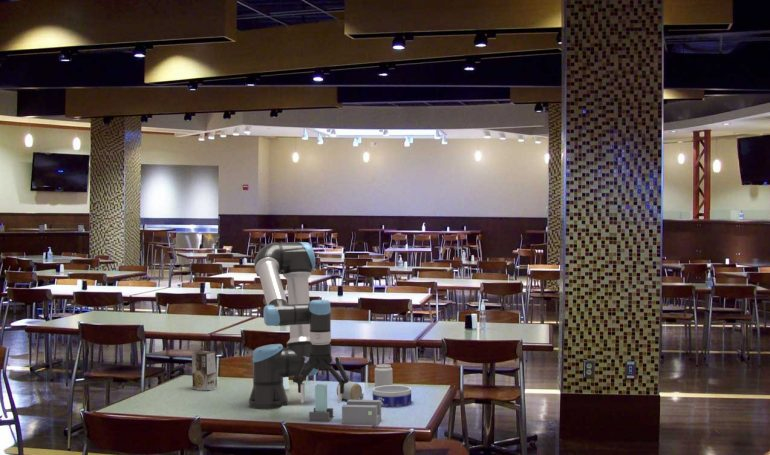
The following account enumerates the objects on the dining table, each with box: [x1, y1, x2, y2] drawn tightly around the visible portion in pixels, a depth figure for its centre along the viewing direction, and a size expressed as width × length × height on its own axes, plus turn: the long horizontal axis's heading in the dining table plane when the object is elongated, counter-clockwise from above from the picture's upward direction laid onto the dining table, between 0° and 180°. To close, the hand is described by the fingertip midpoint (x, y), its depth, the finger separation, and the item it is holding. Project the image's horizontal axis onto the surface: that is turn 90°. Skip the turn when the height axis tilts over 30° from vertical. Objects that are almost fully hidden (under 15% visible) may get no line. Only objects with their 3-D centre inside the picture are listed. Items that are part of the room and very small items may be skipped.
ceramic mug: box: [336, 380, 364, 401], centre depth 342 cm, size 11×8×8 cm
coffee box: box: [191, 350, 218, 391], centre depth 367 cm, size 9×6×16 cm
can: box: [374, 363, 394, 388], centre depth 352 cm, size 8×8×12 cm
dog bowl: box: [372, 384, 412, 408], centre depth 333 cm, size 15×15×6 cm
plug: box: [314, 383, 328, 412], centre depth 304 cm, size 4×4×12 cm
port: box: [341, 399, 382, 428], centre depth 300 cm, size 12×12×7 cm
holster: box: [307, 407, 336, 423], centre depth 304 cm, size 8×9×4 cm
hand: (321, 402), depth 304 cm, fingers open, 13 cm apart
